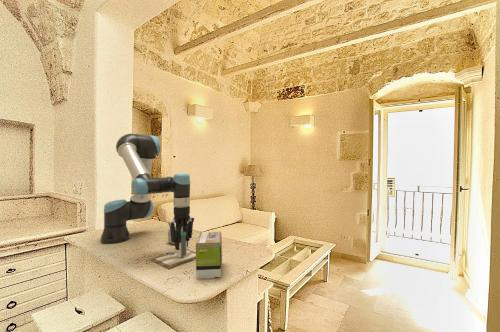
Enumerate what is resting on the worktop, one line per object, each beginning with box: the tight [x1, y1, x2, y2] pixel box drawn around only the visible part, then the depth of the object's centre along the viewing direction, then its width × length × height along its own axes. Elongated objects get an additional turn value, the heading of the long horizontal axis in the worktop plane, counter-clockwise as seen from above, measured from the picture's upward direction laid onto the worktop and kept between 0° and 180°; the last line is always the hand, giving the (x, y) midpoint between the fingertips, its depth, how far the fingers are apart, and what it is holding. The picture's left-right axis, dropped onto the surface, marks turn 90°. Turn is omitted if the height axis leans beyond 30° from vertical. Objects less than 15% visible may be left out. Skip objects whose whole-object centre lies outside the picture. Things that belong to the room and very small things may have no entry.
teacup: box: [167, 226, 183, 245], centre depth 140 cm, size 14×11×8 cm
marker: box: [180, 231, 186, 258], centre depth 114 cm, size 3×3×12 cm
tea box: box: [195, 231, 223, 280], centre depth 102 cm, size 15×10×15 cm
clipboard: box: [150, 248, 196, 270], centre depth 115 cm, size 16×19×1 cm
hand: (181, 254), depth 114 cm, fingers closed on marker, 3 cm apart
